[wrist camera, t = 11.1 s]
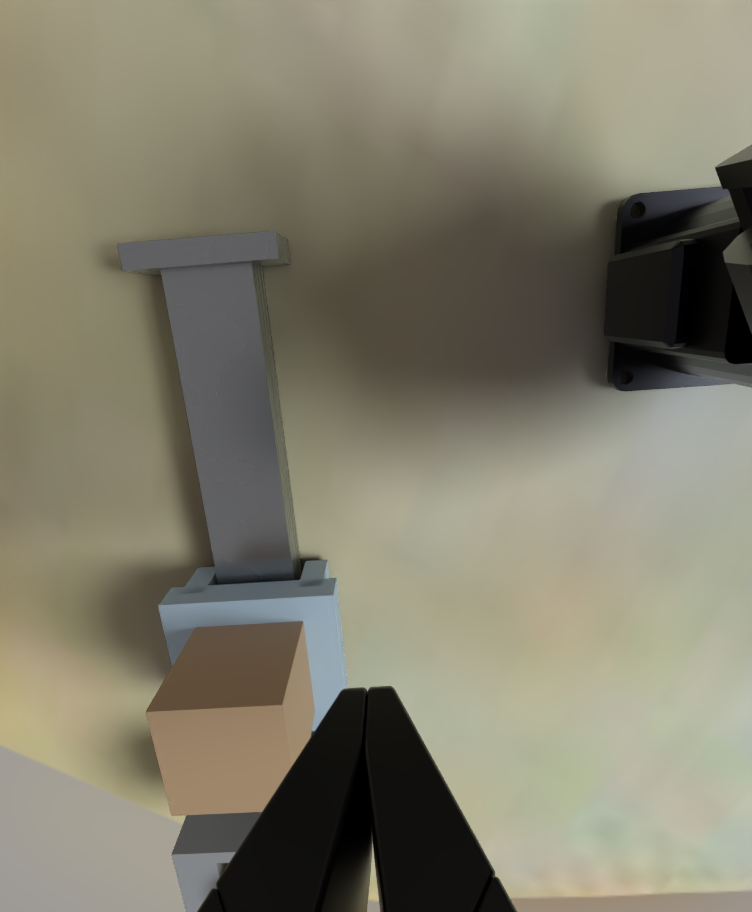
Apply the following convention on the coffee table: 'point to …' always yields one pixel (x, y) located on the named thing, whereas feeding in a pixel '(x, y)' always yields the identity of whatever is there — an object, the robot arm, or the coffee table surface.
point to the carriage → (243, 686)
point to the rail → (230, 394)
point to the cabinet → (207, 851)
